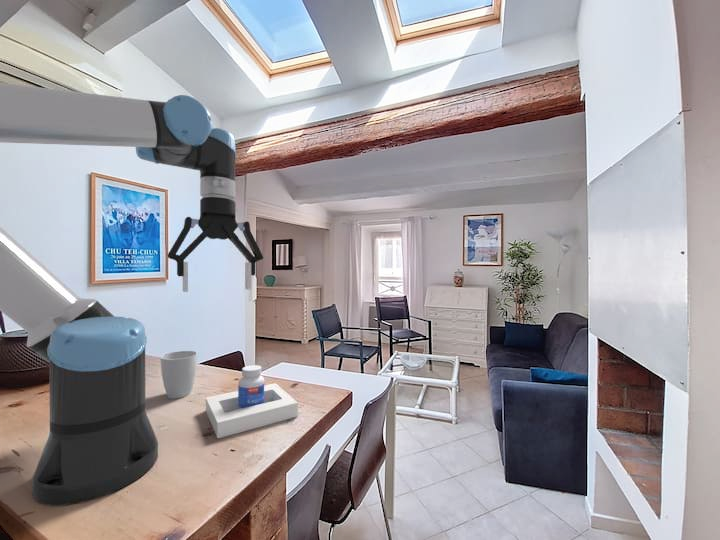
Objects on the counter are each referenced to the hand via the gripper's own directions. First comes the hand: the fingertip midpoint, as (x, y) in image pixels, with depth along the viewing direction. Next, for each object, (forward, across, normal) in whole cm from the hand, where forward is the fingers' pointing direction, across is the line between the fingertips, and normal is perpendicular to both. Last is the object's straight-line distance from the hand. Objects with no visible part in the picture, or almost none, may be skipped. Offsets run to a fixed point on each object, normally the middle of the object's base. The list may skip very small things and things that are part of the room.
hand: (218, 290), depth 75 cm
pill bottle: (+27, +5, -9) cm, 29 cm away
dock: (+27, +5, -6) cm, 28 cm away
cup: (+27, -7, +12) cm, 30 cm away
